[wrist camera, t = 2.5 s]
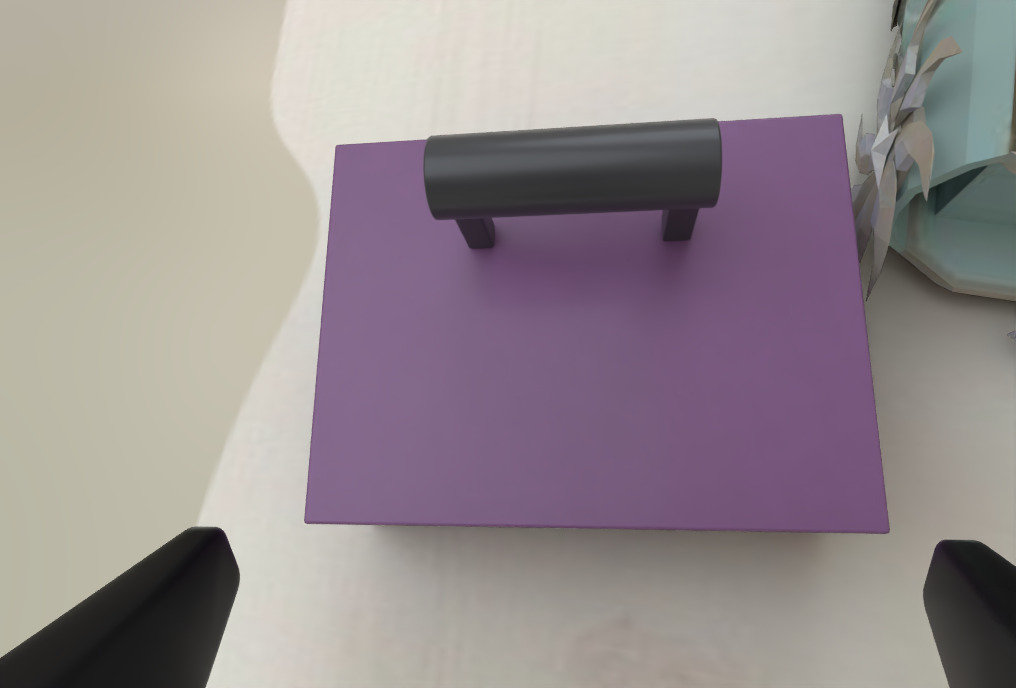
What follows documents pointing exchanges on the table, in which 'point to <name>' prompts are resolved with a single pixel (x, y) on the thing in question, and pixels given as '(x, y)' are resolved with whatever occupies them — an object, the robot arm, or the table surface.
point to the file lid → (597, 332)
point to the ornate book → (945, 148)
